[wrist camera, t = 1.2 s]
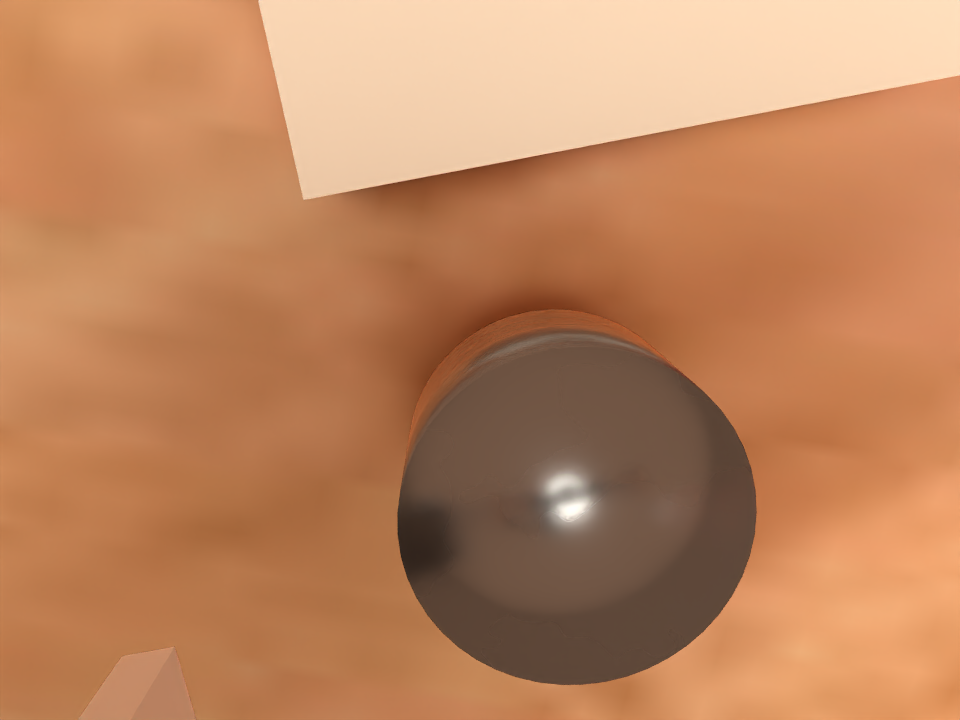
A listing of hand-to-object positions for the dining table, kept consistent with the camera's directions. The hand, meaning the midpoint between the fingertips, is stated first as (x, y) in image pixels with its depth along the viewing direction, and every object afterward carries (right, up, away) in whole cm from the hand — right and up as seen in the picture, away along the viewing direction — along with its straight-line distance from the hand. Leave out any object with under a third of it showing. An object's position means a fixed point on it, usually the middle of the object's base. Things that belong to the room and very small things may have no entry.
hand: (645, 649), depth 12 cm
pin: (-1, +3, +14) cm, 15 cm away
